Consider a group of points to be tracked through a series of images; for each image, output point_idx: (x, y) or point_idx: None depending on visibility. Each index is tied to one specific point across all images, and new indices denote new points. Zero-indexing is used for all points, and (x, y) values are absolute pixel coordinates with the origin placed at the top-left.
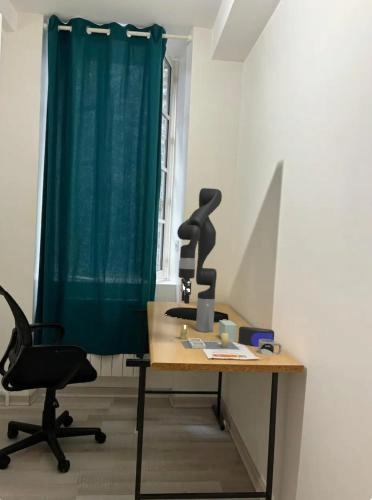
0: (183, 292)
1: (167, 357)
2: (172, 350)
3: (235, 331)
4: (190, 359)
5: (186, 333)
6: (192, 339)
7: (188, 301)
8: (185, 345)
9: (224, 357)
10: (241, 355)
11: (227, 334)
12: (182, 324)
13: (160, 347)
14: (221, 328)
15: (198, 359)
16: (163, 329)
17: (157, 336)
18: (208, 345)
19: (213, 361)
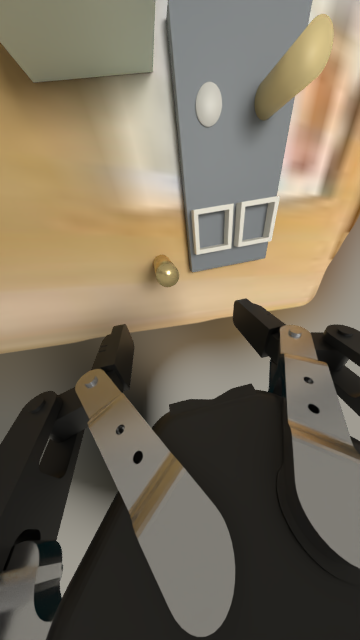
0: (120, 390)
1: (290, 288)
2: (244, 283)
3: None
4: (315, 244)
5: (169, 260)
6: (198, 238)
7: (261, 307)
8: (237, 257)
9: (333, 130)
10: (338, 13)
11: (332, 31)
12: (162, 283)
13: (221, 307)
14: (56, 9)
15: (321, 224)
16: (18, 325)
17: None
18: (239, 179)
19: (350, 182)
